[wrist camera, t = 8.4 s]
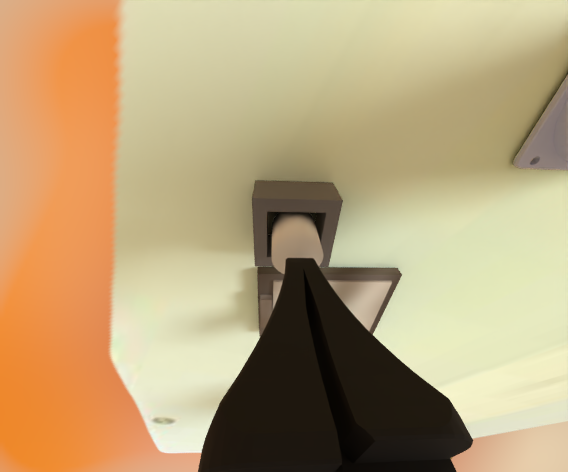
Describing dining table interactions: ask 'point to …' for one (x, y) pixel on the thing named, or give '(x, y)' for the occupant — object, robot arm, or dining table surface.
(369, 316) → the grey flat tray
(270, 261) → the button box
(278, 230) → the button cap
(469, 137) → the dining table surface
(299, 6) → the dining table surface
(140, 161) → the dining table surface
